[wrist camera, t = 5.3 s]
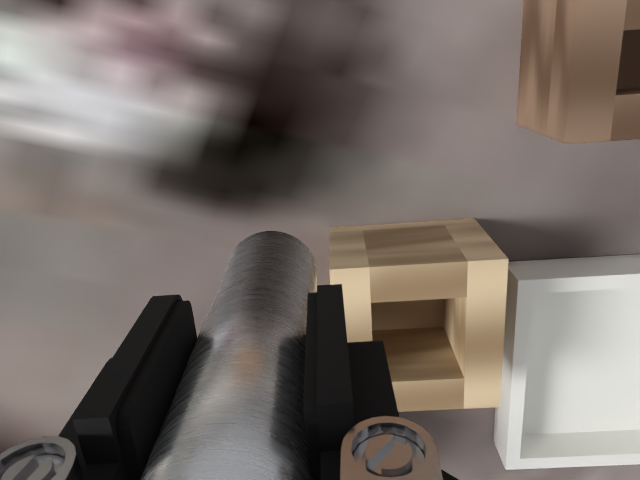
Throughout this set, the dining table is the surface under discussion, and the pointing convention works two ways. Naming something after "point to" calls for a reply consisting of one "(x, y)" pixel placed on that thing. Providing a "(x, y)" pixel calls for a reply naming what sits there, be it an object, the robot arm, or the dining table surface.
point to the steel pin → (245, 373)
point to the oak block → (427, 307)
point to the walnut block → (580, 70)
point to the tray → (571, 364)
